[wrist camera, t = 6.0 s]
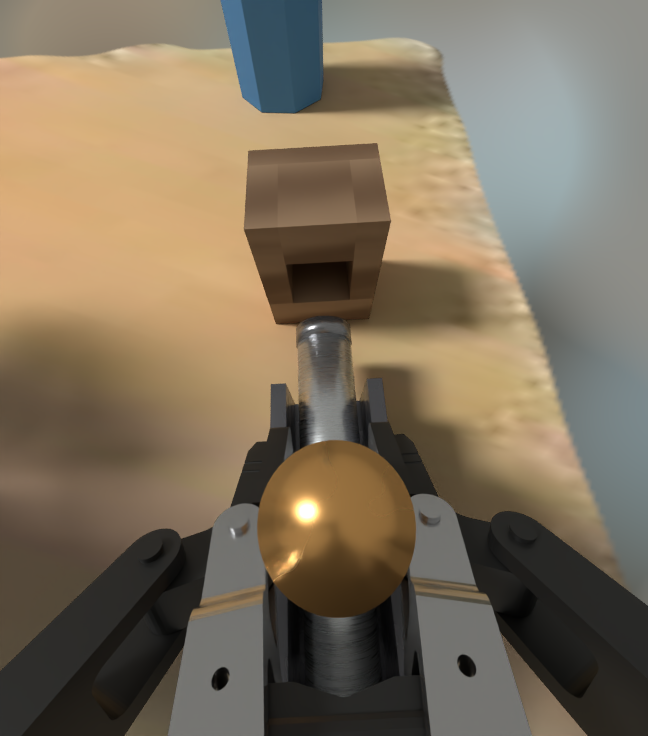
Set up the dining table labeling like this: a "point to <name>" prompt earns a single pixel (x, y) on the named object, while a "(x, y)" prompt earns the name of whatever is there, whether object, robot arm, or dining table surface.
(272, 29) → the water bottle
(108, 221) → the dining table surface
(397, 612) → the sleeve
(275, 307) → the socket block
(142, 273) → the dining table surface
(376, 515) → the tube
